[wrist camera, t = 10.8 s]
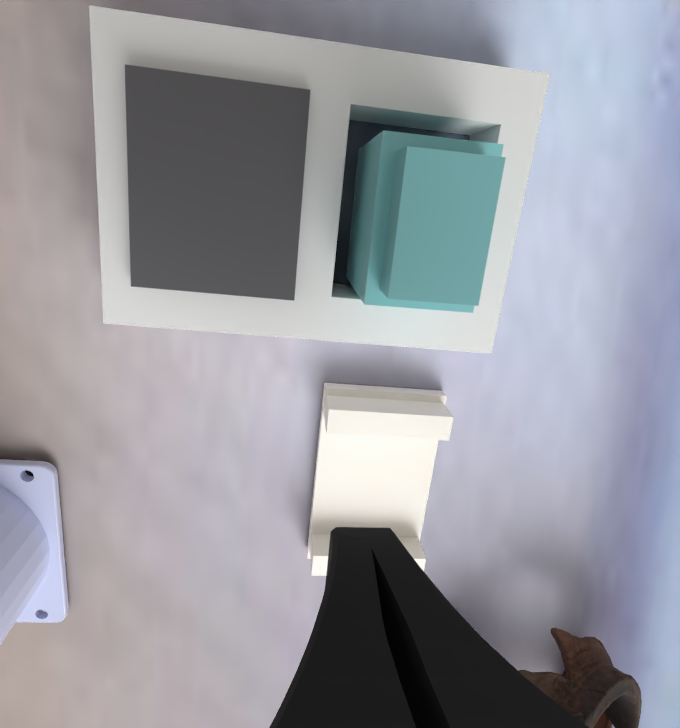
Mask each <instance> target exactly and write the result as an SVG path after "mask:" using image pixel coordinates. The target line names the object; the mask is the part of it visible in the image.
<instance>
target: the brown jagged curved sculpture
mask: <svg viewBox="0 0 680 728" xmlns="http://www.w3.org/2000/svg"><path fill="white" fill-rule="evenodd" d="M551 634H552V635H553V637H554V639H555V640H556V642H557V645H558V646H559V649H560V651H561V655H562V659H563V662H564V666H565V669H566V672H565V673H564V677H562V676H561V675H559V674H557V673H553V672H534V673H533V672H529V671H526V670H519V671H518V672H520V673H521V674H522V675H523V676H524V677H525V678H527V679H528V680H529V681H530V682H531V683H533V684H534V685H535V686H536V687H537V688H539V689H540V690H541V691H542V692H544V693H545V694H546V695H547V696H549V697H550V698H551V699H552V700H554V701H555V702H556V703H557V704H559V705H560V706H561V707H562V708H564V709H565V710H566V711H567V712H569V713H570V714H571V715H573V716H574V717H575V718H577V719H578V720H579V721H581V722H582V723H583V724H585V725H586V726H588V727H589V728H612V724H613V725H614V727H615V728H638V725H639V719H640V714H641V691H640V688H639V686H638V684H637V682H636V681H635V679H634V678H633V677H632V676H630V675H627V674H624V673H622V672H621V671H619V670H618V669H616V668H615V667H613V664H612V662H611V659H610V657H609V655H608V653H607V651H606V650H605V648H604V646H603V644H602V643H601V642H600V641H599V640H598V639H596V638H595V637H584V638H578V637H575V636H572V635H571V634H569V633H568V632H565V631H563V630H560V629H557V628H552V629H551Z"/></svg>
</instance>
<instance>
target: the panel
mask: <svg viewBox="0 0 680 728" xmlns="http://www.w3.org/2000/svg"><path fill="white" fill-rule="evenodd" d="M89 20H90V42H91V63H92V85H93V107H94V129H95V150H96V172H97V194H98V215H99V237H100V259H101V280H102V302H103V323H104V324H117V325H130V326H143V327H155V328H168V329H181V330H194V331H207V332H220V333H232V334H245V335H258V336H271V337H284V338H296V339H309V340H322V341H335V342H348V343H361V344H373V345H386V346H399V347H412V348H425V349H438V350H450V351H463V352H476V353H489V354H491V353H492V348H493V344H494V339H495V334H496V329H497V325H498V320H499V315H500V310H501V306H502V301H503V296H504V291H505V286H506V282H507V277H508V272H509V267H510V263H511V258H512V253H513V248H514V244H515V239H516V234H517V229H518V225H519V220H520V215H521V210H522V206H523V201H524V196H525V191H526V187H527V182H528V177H529V172H530V168H531V163H532V158H533V153H534V149H535V144H536V139H537V134H538V130H539V125H540V120H541V115H542V111H543V106H544V101H545V96H546V92H547V87H548V82H549V77H550V74H549V73H542V72H535V71H529V70H522V69H515V68H509V67H502V66H495V65H488V64H482V63H475V62H468V61H461V60H455V59H448V58H441V57H435V56H428V55H421V54H414V53H408V52H401V51H394V50H387V49H381V48H374V47H367V46H361V45H354V44H347V43H340V42H334V41H327V40H320V39H314V38H307V37H300V36H293V35H287V34H280V33H273V32H266V31H260V30H253V29H246V28H240V27H233V26H226V25H219V24H213V23H206V22H199V21H192V20H186V19H179V18H172V17H166V16H159V15H152V14H145V13H139V12H132V11H125V10H119V9H112V8H105V7H98V6H92V5H89ZM349 120H356V121H364V122H372V123H379V124H387V125H395V126H402V127H410V128H418V129H425V130H433V131H441V132H448V133H456V134H464V135H470V138H469V140H471V141H479V142H488V143H497V144H504V145H503V151H502V156H501V157H506V159H505V164H504V170H503V175H502V181H501V186H500V191H499V197H498V202H497V208H496V213H495V219H494V224H493V229H492V235H491V240H490V246H489V251H488V257H487V262H486V268H485V273H484V278H483V284H482V289H481V295H480V300H479V306H474V311H473V313H468V312H455V311H442V310H429V309H415V308H402V307H389V306H376V305H364V304H363V302H362V301H361V299H360V297H359V296H358V294H357V293H356V291H355V290H354V288H353V287H352V285H343V284H333V276H334V266H335V256H336V246H337V236H338V226H339V216H340V206H341V196H342V186H343V176H344V166H345V156H346V146H347V136H348V126H349Z"/></svg>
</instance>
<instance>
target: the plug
mask: <svg viewBox="0 0 680 728" xmlns="http://www.w3.org/2000/svg"><path fill="white" fill-rule="evenodd" d="M503 145H504V144H497V143H488V142H479V141H471V140H462V139H454V138H445V137H436V136H428V135H419V134H411V133H402V132H393V131H385V130H383V131H382V132H381V133H379V134H378V135H377V136H375V137H374V138H373V139H372V140H370V141H369V142H368V143H367V144H365V145H364V146H363V147H361V148H360V149H359V151H358V161H357V172H356V182H355V192H354V203H353V213H352V223H351V233H350V244H349V254H348V264H347V275H346V277H347V279H348V280H349V282H350V284H351V285H352V287H353V288H354V290H355V291H356V293H357V294H358V296H359V297H360V299H361V301H362V302H363V304H364V305H376V306H389V307H402V308H415V309H429V310H442V311H455V312H468V313H473V311H474V306H479V300H480V295H481V289H482V284H483V278H484V273H485V268H486V262H487V257H488V251H489V246H490V240H491V235H492V229H493V224H494V219H495V213H496V208H497V202H498V197H499V191H500V186H501V181H502V175H503V170H504V164H505V159H506V157H501V156H502V151H503Z"/></svg>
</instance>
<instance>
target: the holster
mask: <svg viewBox="0 0 680 728" xmlns="http://www.w3.org/2000/svg"><path fill="white" fill-rule="evenodd" d="M446 398H447V396H446V394H445V393H444V392H443V391H440V390H425V389H410V388H396V387H381V386H366V385H352V384H337V383H324V388H323V398H322V408H321V418H320V427H319V437H318V447H317V457H316V467H315V477H314V487H313V497H312V506H311V516H310V526H309V536H308V546H307V558H311V575H312V576H326V574H327V564H328V554H329V543H330V533H331V531H332V530H333V529H334V528H336V527H371V528H391V530H392V531H393V532H394V533H395V534H396V536H397V537H398V538H399V540H400V541H401V543H402V544H403V545H404V547H405V548H406V549H407V551H408V552H409V553H410V555H411V556H412V557H413V558H414V560H415V561H416V562H417V564H418V565H419V566H420V568H421V569H422V570H423V571H424V567H425V562H426V557H425V554H424V552H423V549H422V546H421V543H420V537H421V532H422V527H423V521H424V516H425V510H426V505H427V500H428V494H429V489H430V484H431V478H432V473H433V467H434V462H435V457H436V451H437V446H438V441H439V440H447V441H449V438H450V433H451V428H452V423H453V416H452V414H451V413H450V412H449V410H448V409H447V407H446V406H445V403H446Z"/></svg>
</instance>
